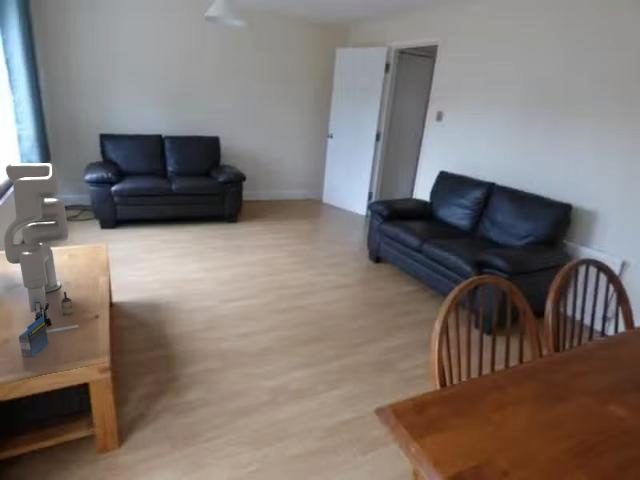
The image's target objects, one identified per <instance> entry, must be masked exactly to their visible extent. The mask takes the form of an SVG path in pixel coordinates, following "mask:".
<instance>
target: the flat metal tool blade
mask: <svg viewBox="0 0 640 480" xmlns="http://www.w3.org/2000/svg"><path fill="white" fill-rule="evenodd" d="M78 328H79V325H78V324H75V325H68V326H64V327H57V328H53V329H46V333H47V334H51V333H56V332H61V331H66V330H67V331H68V330H72V329H78Z"/></svg>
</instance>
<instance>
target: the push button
mask: <svg viewBox="0 0 640 480" xmlns="http://www.w3.org/2000/svg"><path fill="white" fill-rule="evenodd" d="M49 307H50V304H49V303H48V302H46V306H45V310H44V316H45V320H46V326H45V327H46V328H47V327H50V326H52V319H51V318H50V316H49V313H48V311H49ZM40 309H42V308H40ZM41 313H42V311H41Z"/></svg>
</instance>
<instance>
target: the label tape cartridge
mask: <svg viewBox="0 0 640 480" xmlns="http://www.w3.org/2000/svg"><path fill="white" fill-rule="evenodd" d="M38 322H39V323H38ZM46 330H47V327H45V321H44V315H43V316H42V317H40V318H39V319H38V320H36V321H35V320H34V321H33V322H32V323H31V324H30V325H28V326H27V328H26V331H24V332H23V333H21V334H20V335H18V340H19V346H20V350H21V351H20V352H21V356H22V357H25V358H33V357H34V356H36V355H37V353H39V352H40V351H41V350H43V348H45V346H47V345H48V344H49V340H48V335H47V334H48V333H46Z"/></svg>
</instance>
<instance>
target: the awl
mask: <svg viewBox="0 0 640 480" xmlns="http://www.w3.org/2000/svg"><path fill="white" fill-rule="evenodd" d="M63 296H64V297H63V298H62V299H61V300H60V307H61V308H60V309H61V314H62V316H65V317H69V316H71V315H74V307H73V301H72V298H70V297H68V296H67V291H64V292H63Z"/></svg>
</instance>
